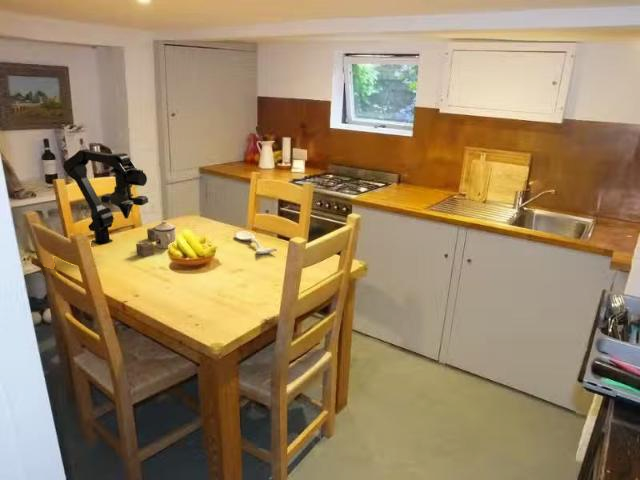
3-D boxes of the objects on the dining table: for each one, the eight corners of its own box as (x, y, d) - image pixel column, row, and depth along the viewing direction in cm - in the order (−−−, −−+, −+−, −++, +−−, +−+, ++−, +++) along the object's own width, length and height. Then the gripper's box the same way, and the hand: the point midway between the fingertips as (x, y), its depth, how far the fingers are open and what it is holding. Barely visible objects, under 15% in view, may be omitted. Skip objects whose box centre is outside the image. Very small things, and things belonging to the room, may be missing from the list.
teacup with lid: (153, 243, 212) (151, 219, 208) (173, 241, 216) (172, 217, 212) (159, 252, 202) (157, 227, 198) (180, 249, 206) (178, 224, 203)
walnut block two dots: (137, 255, 198) (136, 243, 197) (146, 251, 202) (145, 240, 201) (144, 257, 196) (143, 246, 194) (154, 254, 200) (153, 243, 198)
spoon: (259, 259, 201) (259, 251, 199) (231, 236, 226) (231, 230, 225) (277, 255, 205) (277, 248, 204) (249, 234, 231) (249, 227, 229)
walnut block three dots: (147, 239, 217) (146, 228, 216) (156, 236, 221) (155, 226, 220) (154, 241, 215) (154, 231, 213) (163, 238, 219) (162, 228, 217)
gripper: (91, 186, 191) (96, 222, 197) (134, 189, 190) (138, 225, 195) (106, 180, 202) (110, 215, 207) (147, 183, 200) (150, 217, 205)
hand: (126, 218), depth 203 cm, fingers closed
